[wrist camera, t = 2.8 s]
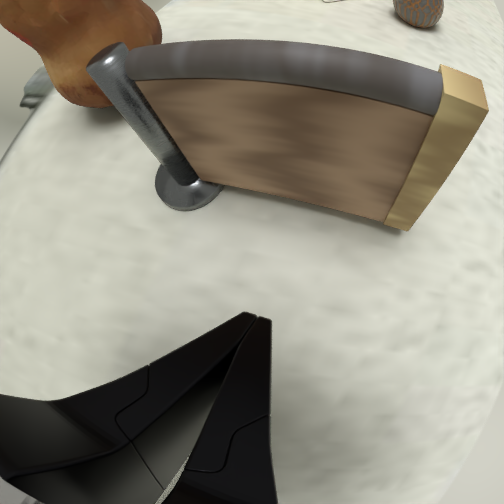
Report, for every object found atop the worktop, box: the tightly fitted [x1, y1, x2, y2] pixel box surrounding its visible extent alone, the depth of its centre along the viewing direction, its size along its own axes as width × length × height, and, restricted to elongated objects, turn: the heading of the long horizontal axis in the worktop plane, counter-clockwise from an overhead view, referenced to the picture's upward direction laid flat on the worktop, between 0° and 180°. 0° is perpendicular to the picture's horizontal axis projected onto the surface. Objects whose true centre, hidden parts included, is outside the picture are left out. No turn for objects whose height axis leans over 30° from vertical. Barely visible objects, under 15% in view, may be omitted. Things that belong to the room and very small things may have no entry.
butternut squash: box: [0, 0, 162, 108], centre depth 19 cm, size 14×13×25 cm
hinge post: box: [86, 42, 224, 211], centre depth 18 cm, size 6×6×14 cm
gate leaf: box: [125, 39, 489, 231], centre depth 15 cm, size 15×2×12 cm, turn 71°
